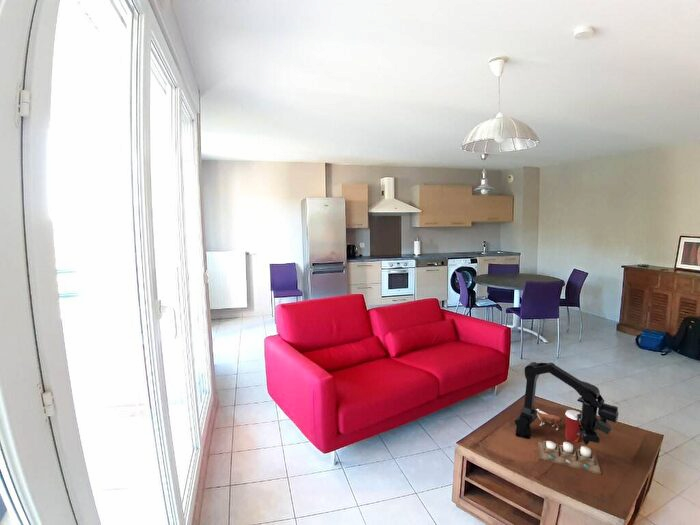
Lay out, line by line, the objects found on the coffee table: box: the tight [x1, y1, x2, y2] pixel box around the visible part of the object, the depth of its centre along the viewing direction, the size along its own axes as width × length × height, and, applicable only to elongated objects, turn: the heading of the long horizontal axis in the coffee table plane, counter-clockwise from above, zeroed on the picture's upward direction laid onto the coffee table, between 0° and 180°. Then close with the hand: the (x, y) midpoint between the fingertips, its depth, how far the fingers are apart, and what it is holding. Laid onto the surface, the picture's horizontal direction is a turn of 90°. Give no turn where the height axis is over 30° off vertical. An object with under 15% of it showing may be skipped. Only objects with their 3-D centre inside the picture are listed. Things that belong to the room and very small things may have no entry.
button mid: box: [562, 441, 574, 454], centre depth 164 cm, size 4×4×4 cm
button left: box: [546, 440, 557, 450], centre depth 167 cm, size 4×4×4 cm
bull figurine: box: [535, 408, 563, 431], centre depth 188 cm, size 4×13×8 cm, turn 54°
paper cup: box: [564, 409, 581, 443], centre depth 177 cm, size 8×8×14 cm
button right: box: [580, 445, 592, 458], centre depth 161 cm, size 4×4×4 cm
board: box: [537, 440, 602, 476], centre depth 163 cm, size 24×12×4 cm, turn 64°
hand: (585, 444), depth 160 cm, fingers closed
